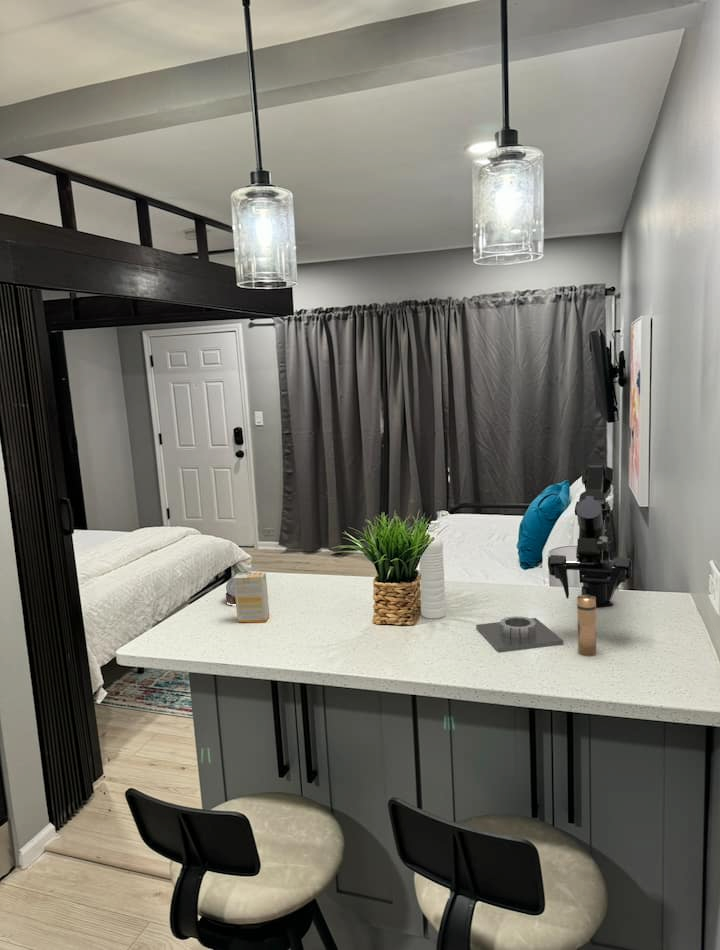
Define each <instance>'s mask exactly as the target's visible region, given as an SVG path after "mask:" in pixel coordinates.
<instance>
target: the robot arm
mask: <svg viewBox="0 0 720 950" xmlns="http://www.w3.org/2000/svg"><path fill="white" fill-rule="evenodd" d="M614 474H615V473H614V469H613V468H611V467H609V466H607V464H604V463H589V464H586V467H583V468H581V483H582V485H584V489H585V491H583V492H581V493H580V495H579V499H578V501H576V503H575V506H574V515H575V516H576V517H577V525H578V529H579V530H578V538H577V540H576V541H577V543H576V545H577V546H576V550H575V551H576V552H575V556H576V559H577V561H568V560H567V557H566V555H557V554H551V555H549V556H548V559H547V566H548V571H549V572H548V573H549V575H550V576H552V577H554V578H555V579H558V580H559V581H560V583H561V585H562V587H563V591H564V594H565V598H566V599H567V600H568V599H569V597H570V590H569V589H570V588H569V577H568V571H569V570H571V571H579V573H578V574H579V583H581V584H582V586H581V595H592V596H595V597H596V608H599V607H600V608H601V607H602V608H603V607H610V606H613V605H614V603H613V602H612V601H611V600H612V598H613V596H614V595H615V592H616V591H617V589H618V588H619V586H620V585H621V583H626V581H628V580H632V578H633V577H632V576H633V573H632V571H633V568H632V563H633V562H632V560H631V558H628V557H613V562H612V561H611V560H610V559H611V558H610V553H609V537H608V536H605V527H606V526H605V523H606V517H608V516H609V515H610V514H611V512H612V506H611V505H610V503H609V501H606V500H607V498H608V497H609V496H610V494H611V492H612V485H614V483H615V482H614V481H615V475H614Z"/></svg>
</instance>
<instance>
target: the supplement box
mask: <svg viewBox="0 0 720 950" xmlns="http://www.w3.org/2000/svg"><path fill="white" fill-rule="evenodd" d="M237 573H238V574H237ZM237 573H236V574H237V575H236V576H235V577H234V578H233V579H234V588H235V599H236V607H235V608H236V616H237V617H236V618H237V623H238V622H247V623H266V622H267V621H268V620H269V618H270V617H269V616H270V606H269V596H268V595H269V593H268V583H267V572H266V571H259V572H258V571H257V572H252V573H239V572H237ZM267 619H268V620H267Z"/></svg>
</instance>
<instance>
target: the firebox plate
mask: <svg viewBox="0 0 720 950" xmlns="http://www.w3.org/2000/svg"><path fill="white" fill-rule="evenodd" d="M475 629H476V630H477V631H478V632H479V633H480V635H481V636H483V637H484V639H485V640H486V641H487V642H488V643H489V644H490V645H491V646H492V647H493V648H494V649H495V650H496V651H497V652H498V653H502V652H503V653H504V652H511V651H518V650H519V651H520V650H528V649H535V648H545V647H552V646H553V647H554V646H560V645H564V640H563V639H562V638H561V637H560V636H559V635H557V634H556V633H555V632H554V631H552V629H550V628H549V627H548V626H546V625H545V624H544V623H543V622H542V621H540V619H537V618H536V617H532V618H531V617H527V616H519V615H518V616H517V615H516V616H515V615H514V616H507V617H504V618H502V619H500V621H497V622H489V623H480V624H475Z"/></svg>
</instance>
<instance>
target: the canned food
mask: <svg viewBox="0 0 720 950" xmlns="http://www.w3.org/2000/svg"><path fill="white" fill-rule="evenodd" d="M238 573H253V572H251V571H248V570H243V571H239V572H237V573H235V574H233V575H232V576H231V577H230V578H229V579H228V581H227V583H226V584H225V591H226V593H225V598H226V599H225V600H226V603H227V602H228V603H230V604H236V599H235V588H234V579H233V578H234V577H235V576H236V575H237V574H238Z"/></svg>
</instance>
